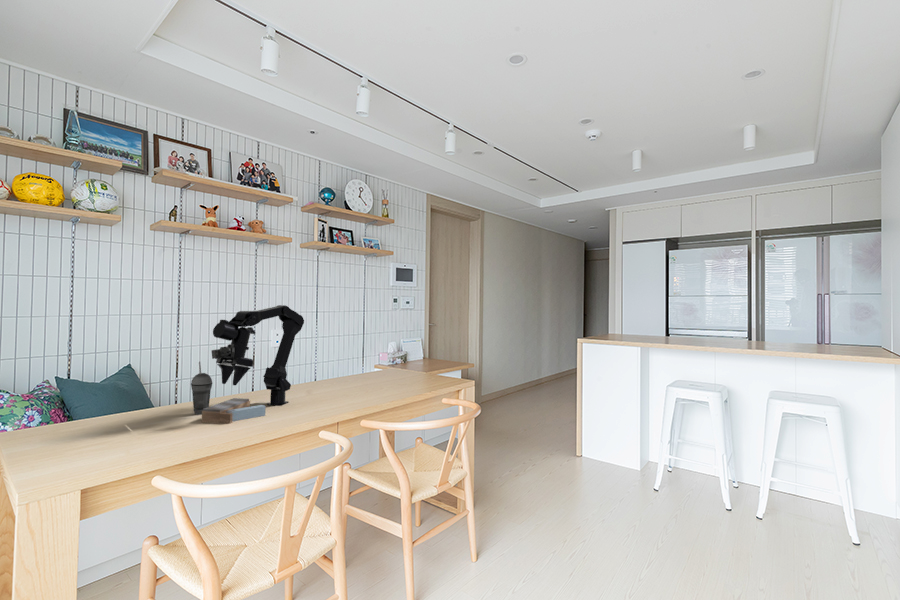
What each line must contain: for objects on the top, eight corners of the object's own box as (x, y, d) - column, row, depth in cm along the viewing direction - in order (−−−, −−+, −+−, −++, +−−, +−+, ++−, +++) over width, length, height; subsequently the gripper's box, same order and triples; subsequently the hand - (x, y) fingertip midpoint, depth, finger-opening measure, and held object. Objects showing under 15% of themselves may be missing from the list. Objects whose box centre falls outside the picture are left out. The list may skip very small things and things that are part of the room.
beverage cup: (201, 417, 158) (203, 363, 158) (185, 415, 160) (186, 362, 160) (216, 412, 166) (217, 360, 166) (200, 410, 167) (201, 359, 167)
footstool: (233, 409, 170) (233, 397, 170) (259, 411, 168) (259, 399, 168) (201, 422, 152) (201, 408, 152) (230, 424, 150) (230, 410, 150)
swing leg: (261, 413, 163) (262, 404, 163) (265, 415, 161) (265, 406, 161) (224, 420, 153) (224, 410, 153) (227, 422, 151) (227, 412, 151)
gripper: (207, 339, 162) (196, 380, 158) (228, 338, 150) (216, 383, 146) (236, 344, 170) (226, 384, 166) (258, 344, 158) (248, 387, 154)
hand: (228, 384), depth 158 cm, fingers open, 9 cm apart
